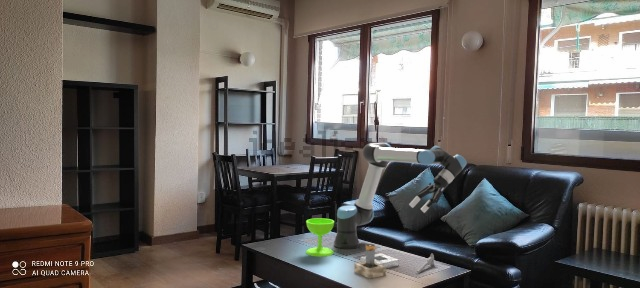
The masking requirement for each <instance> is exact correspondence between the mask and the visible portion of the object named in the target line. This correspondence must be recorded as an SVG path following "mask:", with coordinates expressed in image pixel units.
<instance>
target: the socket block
mask: <svg viewBox="0 0 640 288" xmlns="http://www.w3.org/2000/svg"><path fill="white" fill-rule="evenodd" d="M399 261H400V259H398V258H395V257H392V256H389V255H386V254H384V253H382V252H380V253H375V263H377V264H380V265H382V266H385V267H386V269H389V268H393V267H397V266H399V265H400V263H399ZM361 262H366V255H365V256H360V263H361Z"/></svg>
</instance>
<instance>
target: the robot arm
mask: <svg viewBox="0 0 640 288" xmlns="http://www.w3.org/2000/svg"><path fill="white" fill-rule="evenodd" d="M361 154H362V158H363V159H364V161H365V162H367V163H368V168H367V171H366V173H365V177H364V181H363V183H362V187H361V191H360V193H359V197H358V199H357V200H355V201H354V204H353V205H342V206H340V207H338V209H337V213H336V223H337V224H336V235H335V238H334V241H333V246H334V247H335V248H339V249H344V250H345V249H346V250H347V249H349V250H350V249H351V250H352V249H357V248H359V247H360V241H359V238H358V234H357V227H359V226H364V225H367V224H369V223H371V221H373V219H374V218H375V217H374V216H375V212H374V206H373V204H372V203H373V202H374V198H375V195H376V192H377V189H378V185H379V182H380V178H381V176H382V172H383V170H384V169H386V168H387V165H388V162H394V163H405V164H407V163H408V164H410V163H411V164H418V165H419V164H421V165H424V166H429V165H436V164H438V165H440V166H441V167H443V168H442V170H441V171H439V172H438V174H437V175H436V176H435V177H434V178H433V180H432V181H433V183H431V182H428V184H427V185H426V186H424V187H423V188H421V189H420V190H419V191H417V192H416V193H415V195H416V196H415V197H414V198H413V199H412V200H411V201H410V203H408V205H409V206H410V207H411V208H412V209H413V208H414V207H416V205H418V203H419V202H420V201H421V200H422V198H424V197H426V196H427V195H429V194H431V197H430V198H429V199H428V200H427V201H426V202H425V204H424V205H422V207H421V208H420V210H421V212H423V214H425V213H426V212H427V211H428V210H429V209H430V207H432V206H433V205H434V204H437V203H438V202H439V200H440V199H441V197H442V195H443V193H444V192H445V190H446V188H447V187H448V186H449V184H451V183H452V182H453V180H454V179H456V177H457V176H458V175H459V174H460V173H461V172H462V171H463V170H464V168H465V167H466V166H467V164H468V162H467V159H466V158H465V157H463V155H460V154H455V155H454V156H453V154H450V153H449V152H448V151H447V150H445V149H444V148H442V147H440V146H438V145H434V146H432V147H431V148H430V149H419V148H417V149H415V148H400V147H399V148H398V147H396V148H395V147H392V146H391V145H390V144H389V143H387V142H370V143H367V144H366V145H365V146H364V147H363V148H362V152H361Z"/></svg>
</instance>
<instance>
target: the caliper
mask: <svg viewBox="0 0 640 288" xmlns="http://www.w3.org/2000/svg"><path fill="white" fill-rule="evenodd" d="M433 265H435V255H434V253H431V254H430V256H429V257H428V258H427V259H426V260H425V262H423V264H422V265H421V266H420V267H419V268H418V269H417V270H416V272H415V274H416V275H418V274H420V273H421V272H422V271H423V270H425V268H426V267H427V266H433Z"/></svg>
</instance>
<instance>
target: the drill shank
mask: <svg viewBox="0 0 640 288" xmlns="http://www.w3.org/2000/svg"><path fill="white" fill-rule="evenodd" d="M375 254H376V244H374V243H366V244H365V256H366V267H368V268H373V267H375Z"/></svg>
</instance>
